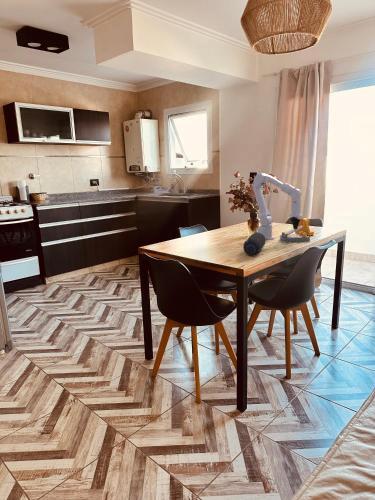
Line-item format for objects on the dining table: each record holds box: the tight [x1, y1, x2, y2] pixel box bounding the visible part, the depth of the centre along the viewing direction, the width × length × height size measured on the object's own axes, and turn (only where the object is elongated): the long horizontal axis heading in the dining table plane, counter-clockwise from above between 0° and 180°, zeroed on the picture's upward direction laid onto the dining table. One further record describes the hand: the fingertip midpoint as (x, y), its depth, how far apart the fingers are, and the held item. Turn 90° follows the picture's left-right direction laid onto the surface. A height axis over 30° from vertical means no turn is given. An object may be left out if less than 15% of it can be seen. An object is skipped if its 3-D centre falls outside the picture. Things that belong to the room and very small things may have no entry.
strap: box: [283, 226, 303, 237], centre depth 226 cm, size 14×3×1 cm, turn 96°
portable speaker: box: [242, 232, 267, 257], centre depth 202 cm, size 25×10×10 cm, turn 159°
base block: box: [279, 231, 311, 244], centre depth 227 cm, size 16×10×5 cm, turn 97°
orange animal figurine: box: [294, 217, 315, 237], centre depth 242 cm, size 11×7×12 cm, turn 39°
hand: (295, 228), depth 225 cm, fingers closed, pressing on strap
